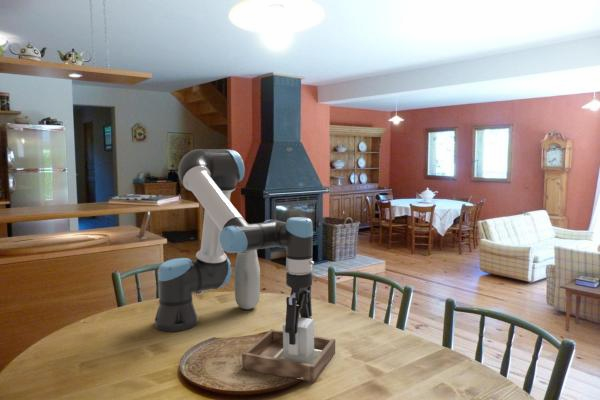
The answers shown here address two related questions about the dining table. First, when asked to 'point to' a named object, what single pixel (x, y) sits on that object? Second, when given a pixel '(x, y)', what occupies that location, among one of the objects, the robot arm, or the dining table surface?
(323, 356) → the crate
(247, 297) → the grey rounded cylinder
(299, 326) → the supplement box
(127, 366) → the dining table surface
